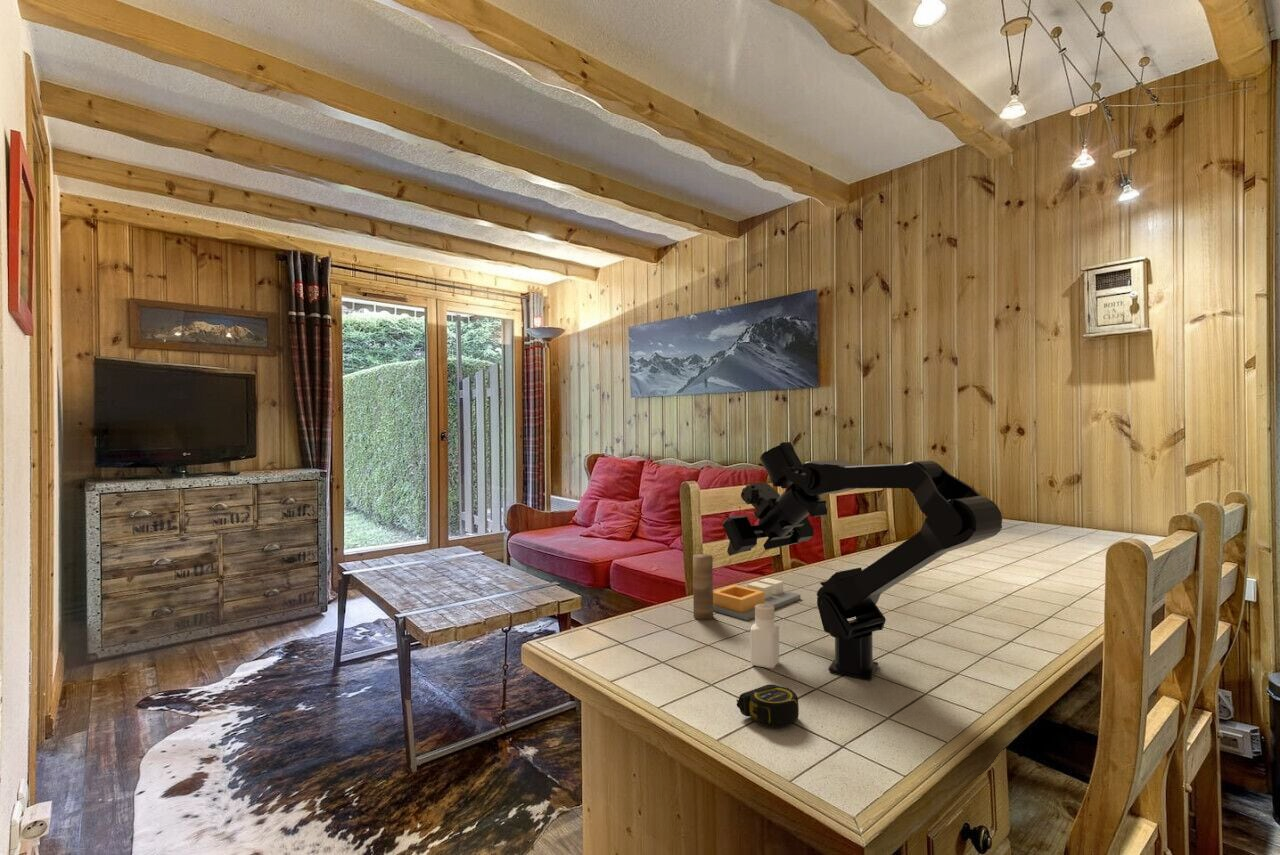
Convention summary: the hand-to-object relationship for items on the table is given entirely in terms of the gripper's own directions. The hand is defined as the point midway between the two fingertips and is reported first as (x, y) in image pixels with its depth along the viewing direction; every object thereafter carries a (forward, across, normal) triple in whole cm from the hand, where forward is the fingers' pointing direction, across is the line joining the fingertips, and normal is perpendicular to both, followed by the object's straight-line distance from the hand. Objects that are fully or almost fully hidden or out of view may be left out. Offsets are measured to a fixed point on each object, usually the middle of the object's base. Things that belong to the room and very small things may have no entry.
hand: (747, 550), depth 117 cm
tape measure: (-14, +22, +30) cm, 40 cm away
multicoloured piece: (+16, -9, +5) cm, 19 cm away
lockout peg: (+15, +5, +6) cm, 17 cm away
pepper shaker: (-4, +10, +22) cm, 24 cm away
